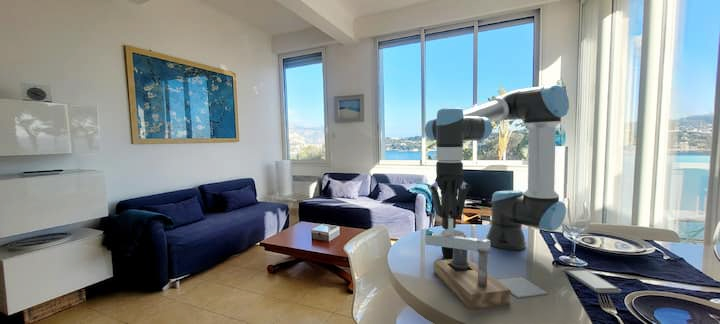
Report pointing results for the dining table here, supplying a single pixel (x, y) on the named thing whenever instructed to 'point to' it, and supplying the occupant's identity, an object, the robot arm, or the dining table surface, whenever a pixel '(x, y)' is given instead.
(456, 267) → the plug
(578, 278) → the smartphone
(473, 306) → the socket block
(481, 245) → the crank
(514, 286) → the mat
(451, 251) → the mug
